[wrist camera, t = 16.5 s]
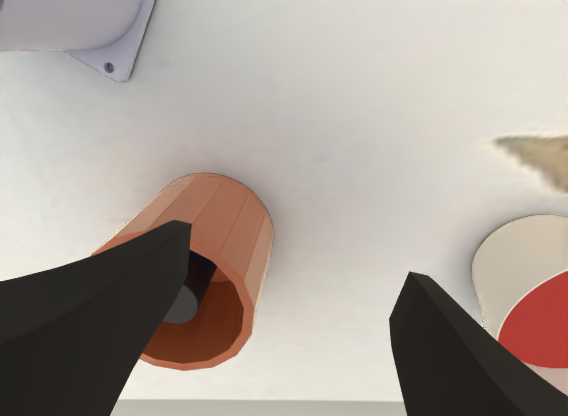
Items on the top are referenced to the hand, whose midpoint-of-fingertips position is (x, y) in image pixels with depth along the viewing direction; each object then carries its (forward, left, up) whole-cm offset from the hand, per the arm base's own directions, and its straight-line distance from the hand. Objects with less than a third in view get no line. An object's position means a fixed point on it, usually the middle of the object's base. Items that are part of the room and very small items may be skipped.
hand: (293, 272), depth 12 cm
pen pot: (-3, -7, -10) cm, 13 cm away
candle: (+15, +2, -11) cm, 18 cm away
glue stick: (-3, -7, -10) cm, 12 cm away
